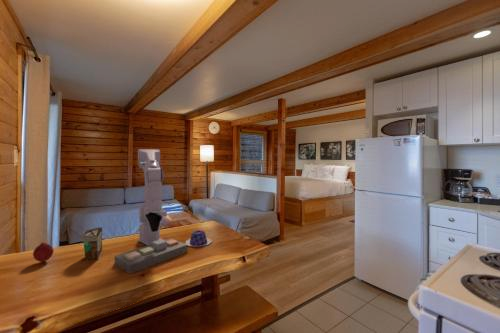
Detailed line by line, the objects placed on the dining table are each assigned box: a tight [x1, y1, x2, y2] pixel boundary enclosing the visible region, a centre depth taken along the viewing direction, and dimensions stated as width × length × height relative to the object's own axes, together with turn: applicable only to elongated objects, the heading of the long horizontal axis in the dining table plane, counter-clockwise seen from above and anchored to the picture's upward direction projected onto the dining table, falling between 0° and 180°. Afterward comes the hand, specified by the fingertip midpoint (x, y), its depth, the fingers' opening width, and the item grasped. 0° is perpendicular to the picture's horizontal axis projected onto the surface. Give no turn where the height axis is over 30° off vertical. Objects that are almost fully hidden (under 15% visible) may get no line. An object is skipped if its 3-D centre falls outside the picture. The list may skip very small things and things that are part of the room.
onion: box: [32, 240, 55, 263], centre depth 91 cm, size 6×6×8 cm
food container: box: [80, 226, 103, 261], centre depth 96 cm, size 12×6×10 cm, turn 23°
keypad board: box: [114, 238, 189, 274], centre depth 96 cm, size 12×24×3 cm, turn 142°
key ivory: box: [124, 251, 141, 261], centre depth 89 cm, size 4×4×3 cm
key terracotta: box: [167, 238, 179, 247], centre depth 102 cm, size 4×4×3 cm
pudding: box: [184, 230, 212, 248], centre depth 112 cm, size 12×12×5 cm
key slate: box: [152, 238, 167, 251], centre depth 98 cm, size 4×4×3 cm
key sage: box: [139, 247, 154, 255], centre depth 94 cm, size 4×4×3 cm
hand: (154, 231), depth 98 cm, fingers closed
